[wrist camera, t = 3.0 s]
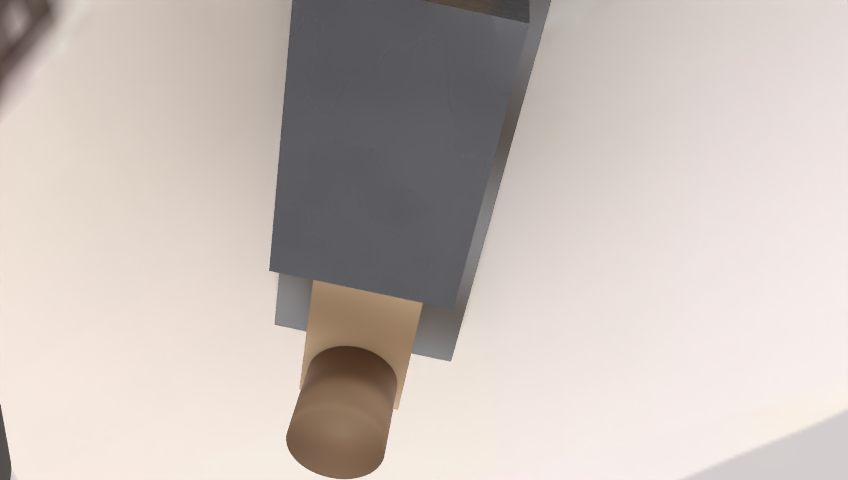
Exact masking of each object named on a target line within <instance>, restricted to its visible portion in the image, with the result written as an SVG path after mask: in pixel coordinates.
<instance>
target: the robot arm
mask: <svg viewBox="0 0 848 480" xmlns="http://www.w3.org/2000/svg"><path fill="white" fill-rule="evenodd" d="M10 477H11V461H10V455H9V450H8V444H7V438H6V433H5V427H4V422H3V416H2V410H1V405H0V480H10Z"/></svg>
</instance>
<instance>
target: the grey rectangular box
mask: <svg viewBox="0 0 848 480" xmlns="http://www.w3.org/2000/svg"><path fill="white" fill-rule="evenodd" d="M529 24H530V0H293V1H292V13H291V24H290V36H289V48H288V59H287V71H286V82H285V94H284V106H283V117H282V129H281V141H280V152H279V164H278V175H277V187H276V199H275V210H274V222H273V234H272V245H271V257H270V268H269V271H273V272H278V273H283V274H288V275H292V276H297V277H302V278H307V279H311V280H316V281H321V282H326V283H330V284H335V285H340V286H345V287H349V288H354V289H359V290H364V291H368V292H373V293H378V294H383V295H387V296H392V297H397V298H402V299H406V300H411V301H416V302H421V303H425V304H430V305H435V306H440V307H444V308H449V309H454V306H455V302H456V298H457V295H458V291H459V287H460V283H461V280H462V276H463V272H464V268H465V265H466V261H467V257H468V253H469V249H470V246H471V242H472V238H473V234H474V231H475V227H476V223H477V219H478V216H479V212H480V208H481V204H482V201H483V197H484V193H485V189H486V186H487V182H488V178H489V174H490V170H491V167H492V163H493V159H494V155H495V152H496V148H497V144H498V140H499V137H500V133H501V129H502V125H503V122H504V118H505V114H506V110H507V107H508V103H509V99H510V95H511V92H512V88H513V84H514V80H515V76H516V73H517V69H518V65H519V61H520V58H521V54H522V50H523V46H524V43H525V39H526V35H527V31H528V28H529Z"/></svg>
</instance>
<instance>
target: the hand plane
mask: <svg viewBox="0 0 848 480" xmlns="http://www.w3.org/2000/svg"><path fill="white" fill-rule="evenodd" d="M550 2H551V0H530V24H529V28H528V31H527V35H526V39H525V43H524V46H523V50H522V54H521V58H520V61H519V65H518V69H517V73H516V76H515V80H514V84H513V88H512V92H511V95H510V99H509V103H508V107H507V110H506V114H505V118H504V122H503V125H502V129H501V133H500V137H499V140H498V144H497V148H496V152H495V155H494V159H493V163H492V167H491V170H490V174H489V178H488V182H487V186H486V189H485V193H484V197H483V201H482V204H481V208H480V212H479V216H478V219H477V223H476V227H475V231H474V234H473V238H472V242H471V246H470V249H469V253H468V257H467V261H466V265H465V268H464V272H463V276H462V280H461V283H460V287H459V291H458V295H457V298H456V302H455V306H454V309H449V308H444V307H440V306H435V305H430V304H425V303H421V302H416V301H411V300H406V299H402V298H397V297H392V296H387V295H383V294H378V293H373V292H368V291H364V290H359V289H354V288H349V287H345V286H340V285H335V284H330V283H326V282H321V281H316V280H311V279H307V278H302V277H297V276H292V275H288V274H283V273H279V283H278V294H277V304H276V315H275V325H279V326H284V327H289V328H293V329H298V330H303V331H307V334H306V342H305V350H304V357H303V365H302V373H301V381H300V389H301V391H300V394H299V397H298V401H297V404H296V407H295V410H294V413H293V416H292V419H291V422H290V425H289V428H288V432H287V436H286V441H287V446H288V449H289V451H290V453H291V454H292V456H293V457H294V458H295V459H296V460H297V461H298V462H299V463H300V464H301V465H302V466H304V467H305V468H307V469H309V470H310V471H312V472H315V473H317V474H319V475H322V476H326V477H330V478H336V479H353V478H358V477H362V476H365V475H367V474H370V473H371V472H373V471H374V470H376V469H377V468H378V467H379V466H380V464H381V463H382V461H383V458H384V454H385V449H386V444H387V439H388V433H389V428H390V423H391V417H392V412H393V409H397V410H398V407H399V403H400V398H401V394H402V390H403V386H404V381H405V377H406V373H407V369H408V364H409V360H410V356H411V353H413V354H417V355H422V356H427V357H432V358H436V359H441V360H446V361H451V359H452V356H453V352H454V349H455V345H456V341H457V338H458V334H459V331H460V327H461V323H462V320H463V316H464V313H465V309H466V305H467V302H468V298H469V295H470V291H471V287H472V284H473V280H474V277H475V273H476V269H477V266H478V262H479V258H480V255H481V251H482V248H483V244H484V240H485V237H486V233H487V230H488V226H489V222H490V219H491V215H492V212H493V208H494V204H495V201H496V197H497V194H498V190H499V186H500V183H501V179H502V176H503V172H504V168H505V165H506V161H507V157H508V154H509V150H510V147H511V143H512V139H513V136H514V132H515V129H516V125H517V121H518V118H519V114H520V111H521V107H522V103H523V100H524V96H525V93H526V89H527V85H528V82H529V78H530V75H531V71H532V67H533V64H534V60H535V56H536V53H537V49H538V46H539V42H540V38H541V35H542V31H543V28H544V24H545V20H546V17H547V13H548V10H549V6H550Z"/></svg>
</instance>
